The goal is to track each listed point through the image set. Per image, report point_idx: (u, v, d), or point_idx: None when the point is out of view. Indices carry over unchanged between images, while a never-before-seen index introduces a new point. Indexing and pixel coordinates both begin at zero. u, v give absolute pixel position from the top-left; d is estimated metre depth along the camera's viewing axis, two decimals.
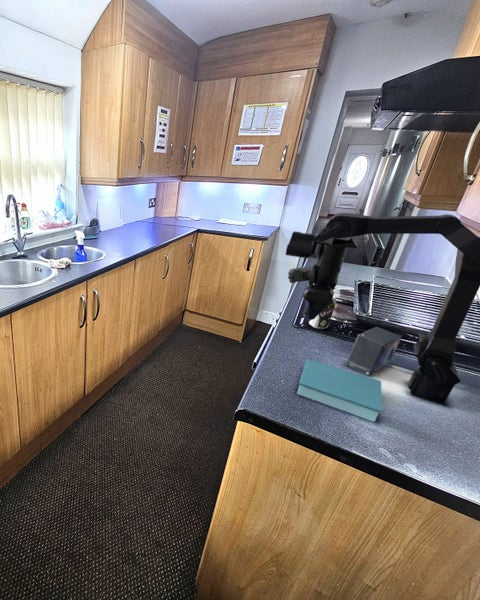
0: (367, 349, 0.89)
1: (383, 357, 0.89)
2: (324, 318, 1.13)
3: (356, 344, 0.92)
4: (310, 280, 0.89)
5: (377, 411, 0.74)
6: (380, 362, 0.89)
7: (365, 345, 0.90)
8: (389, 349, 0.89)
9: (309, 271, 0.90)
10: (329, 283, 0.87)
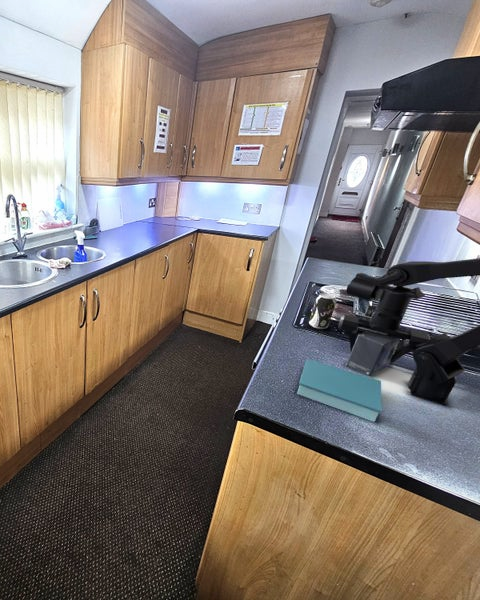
0: (367, 349, 0.89)
1: (383, 357, 0.89)
2: (324, 318, 1.13)
3: (356, 344, 0.92)
4: None
5: (377, 411, 0.74)
6: (380, 362, 0.89)
7: (365, 345, 0.90)
8: (389, 349, 0.89)
9: None
10: (372, 324, 0.90)
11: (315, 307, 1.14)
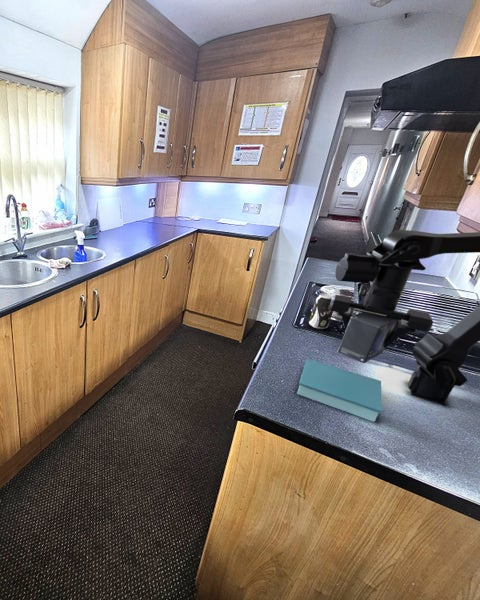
0: (361, 333, 0.79)
1: (379, 341, 0.79)
2: (324, 318, 1.13)
3: (349, 328, 0.81)
4: None
5: (377, 411, 0.74)
6: (376, 347, 0.80)
7: (359, 328, 0.80)
8: (385, 332, 0.79)
9: None
10: (366, 304, 0.80)
11: (315, 307, 1.14)
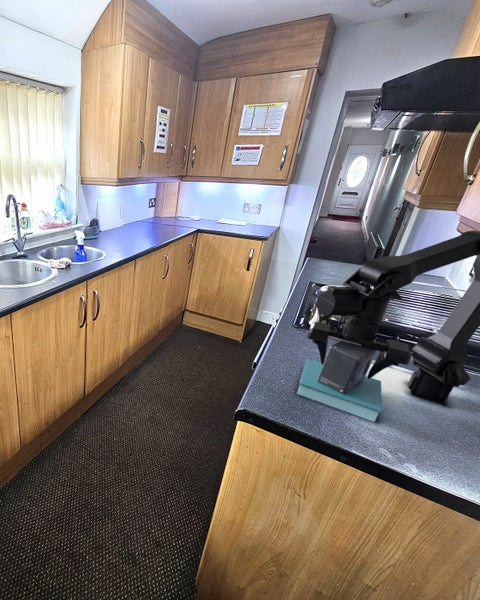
0: (340, 363, 0.77)
1: (358, 372, 0.77)
2: (324, 318, 1.13)
3: (328, 357, 0.79)
4: (344, 326, 0.81)
5: (377, 411, 0.74)
6: (355, 378, 0.77)
7: (338, 358, 0.77)
8: (364, 363, 0.77)
9: None
10: (345, 333, 0.78)
11: (315, 307, 1.14)
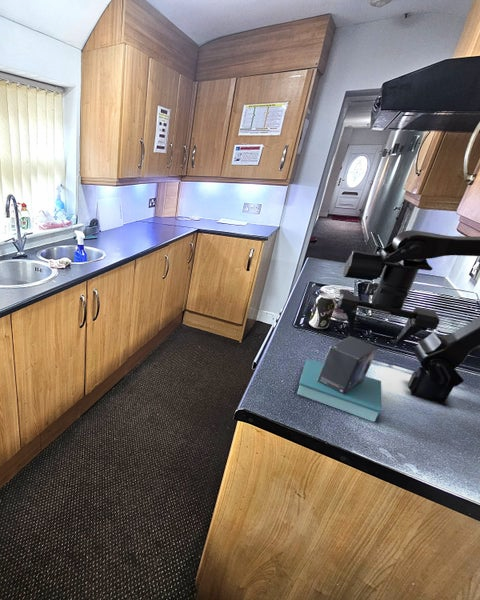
0: (340, 363, 0.77)
1: (358, 372, 0.77)
2: (324, 318, 1.13)
3: (328, 357, 0.79)
4: (372, 297, 0.85)
5: (377, 411, 0.74)
6: (355, 378, 0.77)
7: (338, 359, 0.77)
8: (365, 363, 0.77)
9: None
10: (374, 302, 0.82)
11: (315, 307, 1.14)
